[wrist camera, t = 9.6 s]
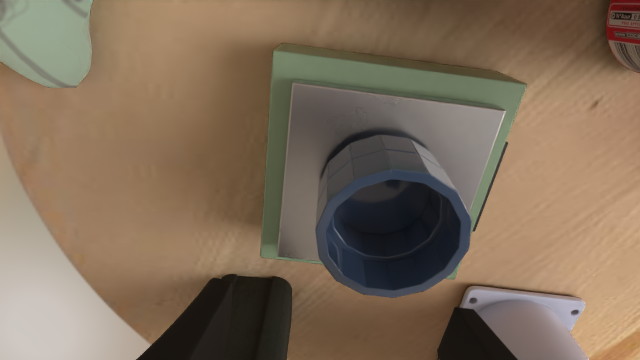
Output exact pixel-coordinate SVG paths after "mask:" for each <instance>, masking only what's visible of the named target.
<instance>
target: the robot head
mask: <svg viewBox="0 0 640 360" xmlns="http://www.w3.org/2000/svg"><path fill="white" fill-rule="evenodd" d="M92 3H93V0H0V61H1V62H2V63H4V64H5V65H7V66H8V67H10V68H11V69H13V70H14V71H16V72H17V73H19V74H21V75H23V76H24V77H26V78H28V79H30V80H32V81H34V82H37V83H39V84H41V85H44V86H46V87H48V88H76V87H77V86H78V84H79V83H80V82H81V81H82V80H83V79H84V77H85V76H86V75H87V74H88V73H89V71H90V67H91V57H92V44H91V38H90V32H89V21H90V11H91V5H92Z"/></svg>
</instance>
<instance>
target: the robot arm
mask: <svg viewBox="0 0 640 360" xmlns="http://www.w3.org/2000/svg"><path fill="white" fill-rule="evenodd" d="M232 281H233V280H227V279H219V278H212V279H211V280H210V281H209V282H208V283H207V284H206V286H205V287H204V288H203V290H202V291H201V292H200V293H199V295H198V296H197V297H196V298H195V299H194V300H193V302H192V303H191V304H190V305H189V306H188V307H187V309H186V310H185V311H184V312H183V313H182V314H181V315H180V316H179V317H178V318H177V320H176V321H175V322H174V323H173V324H172V325H171V326H170V327H169V328H168V329H167V330H166V331H165V332H164V333H163V334H162V335H161V336H160V337H159V338H158V339H157V340H156V341H155V342H154V343H153V344H152V345H151V346H150V347H149V348H148V349H147V350H146V351H145V352H144V353H143V354H142V355H141V356H140V357H139V358H138V359H136V360H222V359H223V356H224V352H225V348H226V344H227V340H228V336H229V332H230V328H231V311H232ZM471 298H473V299H471ZM584 308H585V302H584V301H583V300H582V299H581V298H578V297H569V296H560V295H552V294H543V293H534V292H526V291H517V290H508V289H500V288H491V287H482V286H471V287H469V288H467V290H466V292H465V294H464V297H463V299H462V302H461V304H460V307H455V308H454V311H453V313H452V316H451V318H450V321H449V323H448V325H447V328H446V330H445V333H444V335H443V338H442V340H441V343H440V345H439V348H438V356H439V360H590V359H589V358H588V356H587V355H586V354H585V352H584V351H583V350H582V348H581V347H580V345H579V344H578V343H577V341H576V340H575V338H574V337H573V336H572V334H571V333H570V331H571V329H572V328H573V326H574V324H575V323H576V321H577V319H578V318H579V316H580V315H581V313H582V311H583V310H584Z"/></svg>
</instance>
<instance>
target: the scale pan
mask: <svg viewBox="0 0 640 360" xmlns="http://www.w3.org/2000/svg"><path fill="white" fill-rule="evenodd" d="M505 113H506V110H505V109H503V108H502V107H500V106H498V105H492V104H484V103H476V102H469V101H461V100H453V99H446V98H438V97H430V96H423V95H415V94H407V93H400V92H392V91H385V90H377V89H369V88H362V87H354V86H346V85H339V84H331V83H323V82H316V81H308V80H300V79H294V80H293V82H292V88H291V99H290V111H289V122H288V134H287V145H286V157H285V168H284V180H283V191H282V203H281V214H280V225H279V237H278V248H277V256H279V257H287V258H296V259H304V260H313V261H321V260H320V259H319V257H318V249H317V241H316V234H315V226H316V212H317V199H318V186H319V183H320V181H321V178H322V176H323V174H324V171H325V169H326V166H327V164H328V163H329V161H330V160H332V159H333V158H334V157H335V156H336V155H337V154H338V153H340V152H341V151H342V150H343V149H344V148H345V147H346V146H347V145H349V144H350V143H352V142H356V141H359V140H362V139H365V138H369V137H372V136H375V135H388V136H396V137H404V138H409V139H412V140H413V141H415V142H416V143H418V144H419V145H421V146H422V147H424V148H425V149H427V150H428V151H430V152H431V153H432V154H433V155H434V156H435V157H436V159H437V160H438V162H439V164H440V165H441V167H442V168H443V170H444V171H445V173H446V174H447V176H448V177H449V179H450V180H451V182H452V183H453V185H454V186H455V188H456V189H457V191H458V192H459V194H460V196H461V198H462V200H463V202H464V204H465V206H466V208H467V210H468V212H469V213H470V210H471V207H472V204H473V202H474V199H475V196H476V193H477V190H478V188H479V185H480V182H481V179H482V176H483V174H484V171H485V168H486V165H487V163H488V160H489V157H490V154H491V151H492V149H493V146H494V143H495V140H496V138H497V135H498V132H499V129H500V126H501V124H502V121H503V118H504V115H505Z"/></svg>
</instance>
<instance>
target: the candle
mask: <svg viewBox="0 0 640 360" xmlns="http://www.w3.org/2000/svg"><path fill="white" fill-rule="evenodd" d="M222 279H227V280H233V281H232V311H231V328H230V332H229V336H228V340H227V344H226V348H225V352H224V356H223V359H222V360H286V359H287V351H288V343H289V335H290V327H291V312H292V288H291V286H290V284H289V283H288V282H287V281H286V280H284V279H282V278H279V277H272V279H269V278H252V277H238V276H237V275H236V274H232V275H227V276H224V277H223V278H222Z"/></svg>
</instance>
